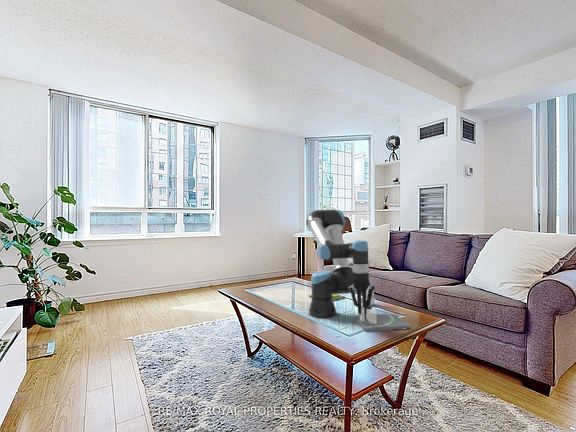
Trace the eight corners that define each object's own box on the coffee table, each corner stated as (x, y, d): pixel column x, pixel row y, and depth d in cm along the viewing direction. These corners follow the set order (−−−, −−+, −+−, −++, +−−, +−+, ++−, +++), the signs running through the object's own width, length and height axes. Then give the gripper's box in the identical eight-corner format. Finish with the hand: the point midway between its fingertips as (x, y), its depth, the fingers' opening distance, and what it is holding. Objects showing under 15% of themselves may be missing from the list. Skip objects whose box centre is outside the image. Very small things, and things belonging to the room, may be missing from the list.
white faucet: (368, 307, 179) (367, 281, 179) (357, 303, 187) (357, 279, 188) (377, 305, 183) (376, 280, 183) (366, 301, 191) (365, 278, 191)
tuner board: (365, 331, 141) (365, 327, 141) (353, 319, 159) (353, 315, 159) (410, 328, 143) (410, 325, 143) (393, 316, 161) (393, 313, 161)
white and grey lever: (360, 316, 157) (360, 304, 157) (369, 315, 158) (369, 304, 158) (370, 325, 143) (370, 312, 144) (380, 324, 144) (380, 312, 144)
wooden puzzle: (325, 303, 191) (324, 297, 191) (307, 297, 207) (307, 292, 207) (345, 299, 200) (345, 293, 201) (327, 293, 217) (327, 288, 217)
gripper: (350, 273, 144) (351, 323, 143) (376, 272, 145) (378, 322, 144) (345, 271, 151) (347, 318, 151) (371, 270, 152) (372, 317, 152)
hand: (362, 320), depth 148 cm, fingers closed
